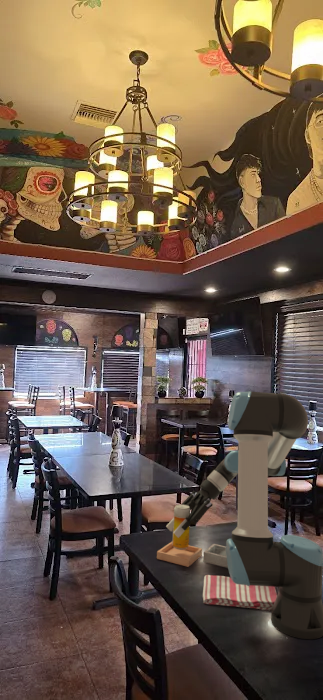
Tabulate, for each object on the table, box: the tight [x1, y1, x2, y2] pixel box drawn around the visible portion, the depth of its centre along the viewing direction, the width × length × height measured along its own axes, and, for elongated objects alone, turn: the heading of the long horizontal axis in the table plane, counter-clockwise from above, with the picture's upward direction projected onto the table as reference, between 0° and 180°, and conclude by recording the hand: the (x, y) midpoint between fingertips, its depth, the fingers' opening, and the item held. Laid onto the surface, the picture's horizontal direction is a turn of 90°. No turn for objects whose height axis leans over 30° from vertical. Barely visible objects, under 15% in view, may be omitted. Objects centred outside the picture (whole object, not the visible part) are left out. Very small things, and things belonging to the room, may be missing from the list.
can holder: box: [202, 543, 228, 569], centre depth 177 cm, size 10×10×4 cm
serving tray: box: [156, 541, 203, 568], centre depth 178 cm, size 13×13×2 cm
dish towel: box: [202, 574, 278, 611], centre depth 151 cm, size 17×23×4 cm
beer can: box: [171, 503, 191, 550], centre depth 178 cm, size 6×6×15 cm
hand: (172, 531), depth 177 cm, fingers closed on beer can, 6 cm apart
